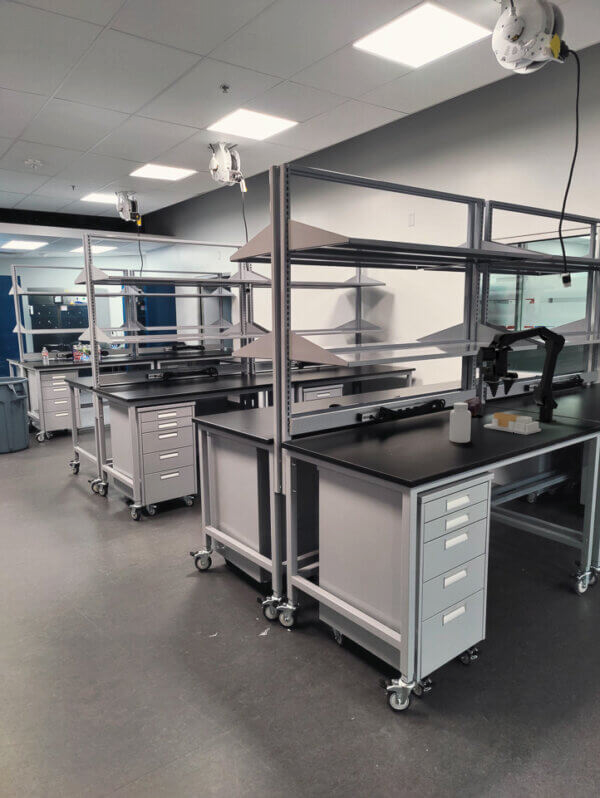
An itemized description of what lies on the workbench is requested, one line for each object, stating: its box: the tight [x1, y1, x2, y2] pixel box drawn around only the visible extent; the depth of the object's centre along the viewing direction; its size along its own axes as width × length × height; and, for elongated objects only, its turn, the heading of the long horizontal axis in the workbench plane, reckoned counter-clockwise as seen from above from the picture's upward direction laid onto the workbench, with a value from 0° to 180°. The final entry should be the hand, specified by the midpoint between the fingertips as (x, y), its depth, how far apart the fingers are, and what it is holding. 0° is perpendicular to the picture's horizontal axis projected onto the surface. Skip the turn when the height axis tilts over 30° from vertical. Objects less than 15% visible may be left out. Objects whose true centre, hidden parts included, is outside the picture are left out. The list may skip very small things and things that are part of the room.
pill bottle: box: [448, 401, 472, 444], centre depth 211 cm, size 8×8×15 cm
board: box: [483, 417, 542, 436], centre depth 231 cm, size 11×20×4 cm, turn 36°
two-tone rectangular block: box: [493, 411, 533, 427], centre depth 231 cm, size 4×16×5 cm, turn 36°
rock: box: [462, 396, 483, 417], centre depth 263 cm, size 12×9×10 cm
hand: (499, 395), depth 242 cm, fingers open, 9 cm apart
